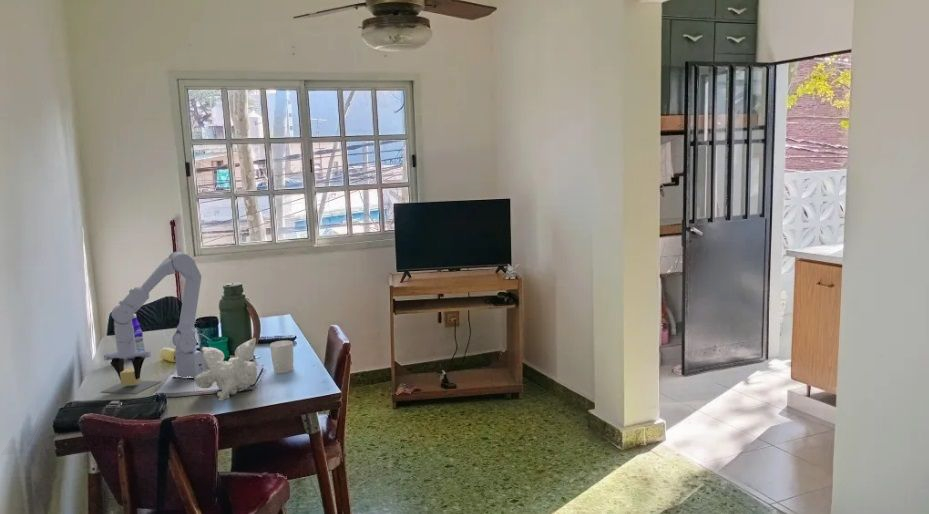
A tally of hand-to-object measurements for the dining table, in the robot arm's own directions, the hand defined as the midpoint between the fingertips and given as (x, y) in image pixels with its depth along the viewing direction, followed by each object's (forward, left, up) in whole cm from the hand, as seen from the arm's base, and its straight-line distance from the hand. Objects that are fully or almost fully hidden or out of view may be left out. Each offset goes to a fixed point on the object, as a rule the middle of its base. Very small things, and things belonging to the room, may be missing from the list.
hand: (130, 378), depth 224 cm
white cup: (-45, -23, -3) cm, 51 cm away
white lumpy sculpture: (-38, -1, -3) cm, 38 cm away
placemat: (0, 0, -3) cm, 3 cm away
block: (0, 0, -2) cm, 2 cm away
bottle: (+26, -32, -3) cm, 41 cm away
